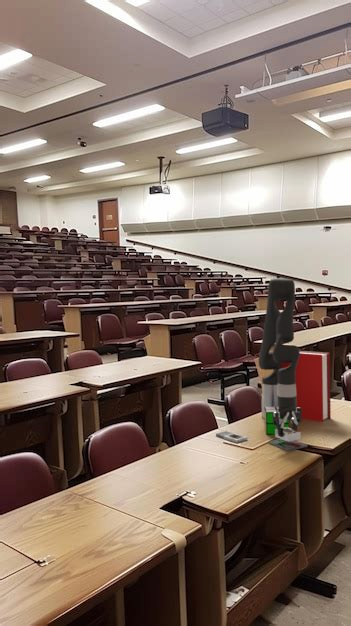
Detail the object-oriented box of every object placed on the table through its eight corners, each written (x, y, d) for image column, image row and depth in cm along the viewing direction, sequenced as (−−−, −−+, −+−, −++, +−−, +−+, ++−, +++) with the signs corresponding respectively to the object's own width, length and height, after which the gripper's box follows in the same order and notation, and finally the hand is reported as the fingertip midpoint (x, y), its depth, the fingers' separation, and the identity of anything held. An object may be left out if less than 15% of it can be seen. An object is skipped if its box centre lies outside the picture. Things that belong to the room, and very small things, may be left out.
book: (330, 418, 233) (329, 352, 232) (323, 422, 227) (322, 354, 226) (280, 410, 252) (279, 349, 250) (272, 413, 246) (271, 351, 244)
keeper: (268, 443, 199) (268, 431, 198) (286, 439, 204) (286, 427, 203) (288, 451, 188) (288, 438, 188) (307, 446, 193) (307, 434, 193)
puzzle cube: (286, 428, 220) (286, 406, 219) (289, 434, 210) (289, 412, 209) (264, 428, 221) (263, 406, 220) (266, 434, 211) (265, 412, 210)
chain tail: (215, 436, 211) (215, 433, 210) (226, 433, 214) (226, 430, 214) (236, 443, 200) (236, 440, 200) (247, 439, 204) (247, 437, 204)
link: (275, 436, 198) (274, 429, 198) (286, 434, 201) (286, 426, 201) (288, 441, 191) (288, 434, 191) (300, 438, 194) (300, 431, 194)
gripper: (293, 390, 202) (294, 429, 202) (266, 395, 195) (267, 435, 195) (306, 393, 195) (307, 434, 196) (279, 398, 188) (280, 440, 189)
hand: (287, 434), depth 196 cm, fingers closed on link, 6 cm apart
